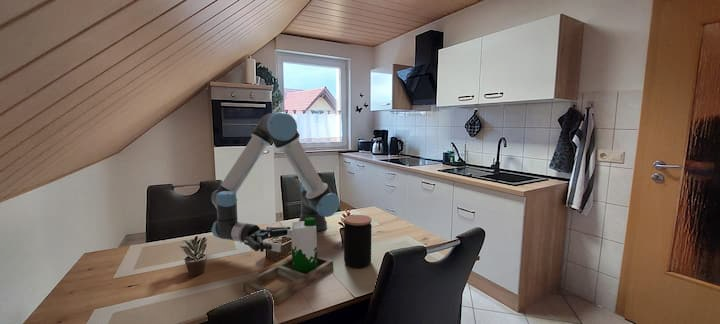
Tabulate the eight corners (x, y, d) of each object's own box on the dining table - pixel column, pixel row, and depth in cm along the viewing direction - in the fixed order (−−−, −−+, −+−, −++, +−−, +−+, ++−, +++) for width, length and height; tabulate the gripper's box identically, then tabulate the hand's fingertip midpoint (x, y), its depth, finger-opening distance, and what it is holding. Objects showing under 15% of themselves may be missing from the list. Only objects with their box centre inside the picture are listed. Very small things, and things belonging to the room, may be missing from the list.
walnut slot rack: (303, 258, 122) (303, 251, 122) (333, 268, 114) (333, 260, 114) (243, 291, 98) (243, 282, 98) (275, 305, 90) (275, 296, 90)
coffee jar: (375, 261, 121) (376, 217, 119) (362, 271, 112) (363, 224, 110) (353, 255, 126) (353, 213, 124) (338, 265, 117) (338, 220, 115)
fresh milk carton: (318, 275, 109) (317, 221, 107) (292, 278, 107) (291, 223, 104) (315, 264, 117) (314, 214, 115) (291, 267, 115) (290, 216, 113)
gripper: (267, 232, 132) (309, 239, 124) (222, 254, 109) (269, 265, 101) (267, 215, 131) (309, 221, 123) (221, 234, 108) (269, 243, 100)
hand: (291, 241), depth 112 cm, fingers open, 13 cm apart
